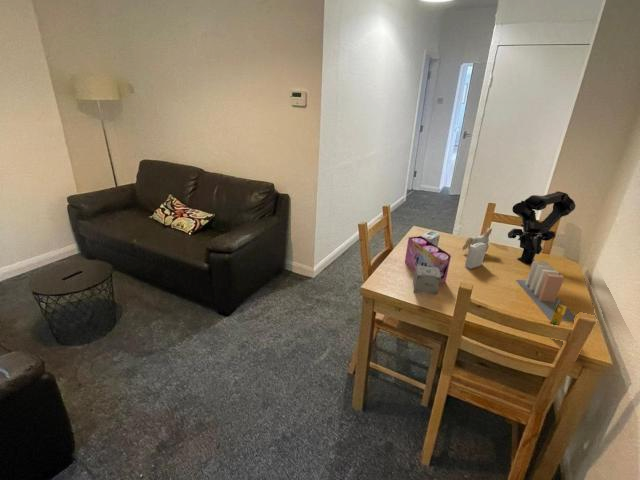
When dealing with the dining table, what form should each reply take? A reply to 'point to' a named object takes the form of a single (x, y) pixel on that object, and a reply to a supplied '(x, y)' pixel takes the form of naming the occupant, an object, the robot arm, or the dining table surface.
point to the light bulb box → (432, 237)
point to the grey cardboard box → (426, 279)
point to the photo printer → (475, 255)
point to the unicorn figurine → (478, 239)
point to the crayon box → (558, 314)
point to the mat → (546, 304)
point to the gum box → (427, 255)
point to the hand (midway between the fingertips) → (533, 251)
